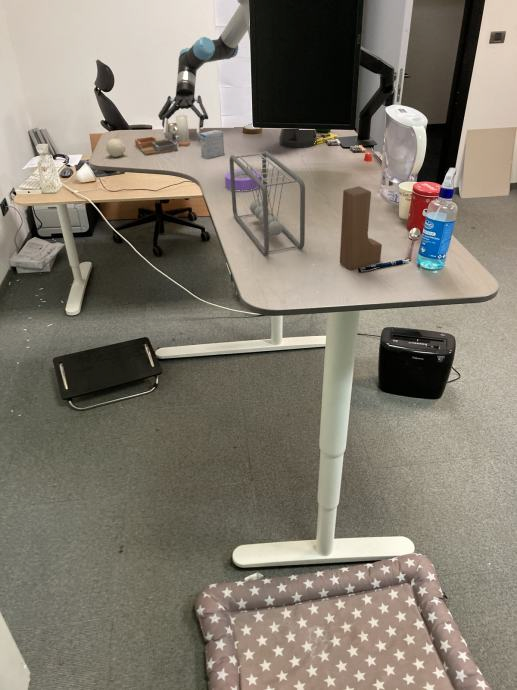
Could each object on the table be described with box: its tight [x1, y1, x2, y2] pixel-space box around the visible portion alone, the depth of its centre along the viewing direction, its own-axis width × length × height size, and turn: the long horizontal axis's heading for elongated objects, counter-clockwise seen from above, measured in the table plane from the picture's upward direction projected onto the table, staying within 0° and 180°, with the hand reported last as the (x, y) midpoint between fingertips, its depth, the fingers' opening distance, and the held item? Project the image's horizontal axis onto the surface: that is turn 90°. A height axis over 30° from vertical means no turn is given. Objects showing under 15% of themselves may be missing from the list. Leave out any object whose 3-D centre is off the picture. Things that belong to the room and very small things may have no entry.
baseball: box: [105, 138, 126, 158], centre depth 211 cm, size 7×7×7 cm
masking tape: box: [224, 169, 262, 192], centre depth 178 cm, size 12×12×4 cm
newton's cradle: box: [229, 150, 306, 256], centre depth 141 cm, size 30×10×18 cm, turn 18°
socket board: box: [134, 136, 178, 156], centre depth 220 cm, size 17×13×3 cm
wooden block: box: [339, 186, 383, 271], centre depth 124 cm, size 9×4×18 cm, turn 119°
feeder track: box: [164, 122, 179, 143], centre depth 231 cm, size 11×6×5 cm, turn 24°
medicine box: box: [199, 129, 225, 160], centre depth 206 cm, size 8×4×9 cm, turn 128°
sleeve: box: [175, 115, 191, 147], centre depth 220 cm, size 5×5×11 cm
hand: (181, 134), depth 219 cm, fingers open, 13 cm apart
